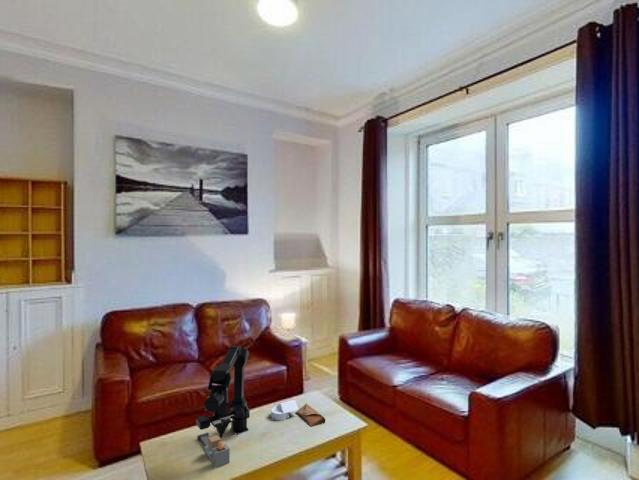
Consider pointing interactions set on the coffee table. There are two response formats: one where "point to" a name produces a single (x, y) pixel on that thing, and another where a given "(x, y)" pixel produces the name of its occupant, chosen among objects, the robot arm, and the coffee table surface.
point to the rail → (203, 438)
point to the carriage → (212, 444)
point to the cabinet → (220, 456)
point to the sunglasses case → (310, 415)
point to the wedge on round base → (283, 410)
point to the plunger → (220, 445)
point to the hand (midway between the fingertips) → (220, 437)
